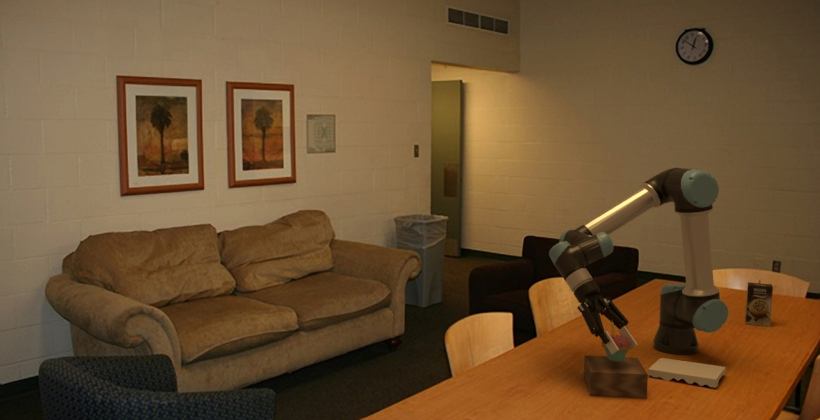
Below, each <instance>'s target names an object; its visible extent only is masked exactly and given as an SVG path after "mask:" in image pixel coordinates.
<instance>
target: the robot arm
mask: <svg viewBox="0 0 820 420" xmlns="http://www.w3.org/2000/svg"><path fill="white" fill-rule="evenodd" d="M718 183H719V182H717V179H716V178H715V176H714V175H712V174H711V173H710V172H708V171H705V170H702V169H698V168H682V167H673V168H668V169H666V170H663V171H662V172H661V171H660V172H659V173H658V174H655V175H654V176H652V177H651V178H649V179H648V180H645V182H643V183H641V185H640V187H639V189H637V190H636V191H634V192H632V193H631V194H628V195H627V196H626V197H624V198H622V199H621V200H619V201H618V202H617V203H614V204H613V205H612V206H610V207H609V208H607V209H605V210H604V211H602V212H601V213H599V214H598V215H596V216H594V217H592V218H591V219H590V220H588V221H586V222H585V223H583V224H582V225H580V226H578V227H576V228H575V229H566V230H564V231H563V232H562V233H561V234H560V236H559V240H558V241H559V242H558V243H556V244H555V245H553V246H552V247H551V248H550V249H549V251H548V256H549V258H550V260H551V261H552V263H553V265H554V266H555V268H556V269H557V271H558V273H559V274H560V275H561V276H562V278H563V280H564V281H565V282H566V284H567V286H568V287H569V289H570V291H571V292H573V295H574V297H575V299H576V300H577V302H578V303H579V305H578V306H577V310H578V311H579V312H580V313H581V315H582V317H583V319H584V321H585V323H586V325H587V328H588V330H589V331H590V333H591V335H592V336H593V335H594V337H595V338H598V337H599V338H600V340H601V342H602V341H603V343H604V344H605V345H606V346H607V348H608V349H609V351H610V353H611V354H612V355H613V354H615V353H616V352H617V351H618V350H619V348H618V347H617V345H616V344H615V342H614V341H613V339H612V338H611V336H610V335H611V334H610V333H609V332H608V330H605V329H604V325H603V322H602V318H601V316H604V317H605V318H606V319H607V320H608V321H610V323H612V322H613V323H614V327H616V328H617V329H618V331H617V332H618V333H619V336H620V335H622V336H623V337H625V338H627V339H628V340H629V341H630V343H631V349H630V350H632V349H634V348H635V347H636V346H638V342H637V341H636V339H635V337H633V335H632V333H631V332H630V330H629V328H628V326H627V325H628V324H629V320H628V319H627V318H626V316H625V315H624V314H623V313H622V312H621V311H620V309H619V308H618V307H617V305H615V304H614V302H613V300H612V298H611V297H610V296H607V297H606V298H604V297H603V296H602V295H601V294H600V292H601V289H600V287H599V286H598V284H597V283H596V281H595V280H594V279H593V277H592V275H591V274H590V273H589V271H588V269H587V268H586V266H588V265H590V264H592V263H594V262H596V261H599V260H600V259H603V258H606V257H607V256H609V255H610V254H612V253H613V252H614V247H615V246H614V243H613V241H612V239H611V237H610V235H611V234H612V233H614V232H615V231H617V230H619V229H620V228H621V227H623V226H625V225H627V224H628V223H630V222H631V221H633V220H634V219H636V218H638V217H639V216H641V215H643V214H644V213H646V212H647V211H649V210H651V209H652V208H657V209H658V208H659V207H661V206H662V205H665V204H668V203H674V204H673V205H674V213H676V214H677V215H678V216H679V217H680V228H681V238H682V251H683V252H682V253H683V262H684V263H683V265H684V274H685V283H668V284H664V285H662V286H661V288H660V295H659V296H660V300H659V302H660V303H659V323H658V325H659V326H658V328H657V331H656V333H655V335H654V338H653V341H652V346H653V348H654V349H655V350H657V351H659V352H662V353H667V354H672V355H692V354H697V353H698V352H699V342H698V341H699V340H698V338H697V335H696V330H697V331H699V332H704V333H715V332H717V331H718V330H721V328H722V327H723V326H724V325H725V324H726V323H727V320H728V318H729V309H728V306H727V304H726V303H725V302H724V301H723V300H721V297H720V289H719V288H718V287H717V286H716V285H715V282H714V271H713V270H714V269H713V258H712V257H713V256H712V245H711V233H710V232H711V231H710V220H709V214H710V213H711V211H713V209H714V208H713V204H714V203H715V202H716V200H717V198H718V196H719V192H720V191H719V190H720V189H719V184H718ZM695 329H696V330H695Z"/></svg>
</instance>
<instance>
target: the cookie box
mask: <svg viewBox="0 0 820 420" xmlns="http://www.w3.org/2000/svg"><path fill="white" fill-rule="evenodd" d="M773 291H774V288H773V284H769V283H759V282H747V291H746V302H745V315H744V324H745V325H749V326H751V325H752V326H761V327H766V328H767V327H771V317H772V316H771V315H772V304H773Z"/></svg>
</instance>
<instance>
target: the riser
mask: <svg viewBox="0 0 820 420" xmlns="http://www.w3.org/2000/svg"><path fill="white" fill-rule="evenodd" d="M583 358H584V362H583V379H584V382H585V384H586V387H587V391H588V393H589V396H595V397H597V396H598V397H616V398H618V397H619V398H638V399H639V398H640V399H641V398H642V399H647V398H648V379H649V375H648V371H647V370H646V369H645V368H644V366H643V364H642V363H641V361H640V359H639V358H638V357H635V356H634V357H632V356H631V357H629V356H625V358H624V360H623V361H612V360H609V359H608V358H607V355H606V356H605V355H584V357H583Z"/></svg>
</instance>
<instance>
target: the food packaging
mask: <svg viewBox="0 0 820 420" xmlns="http://www.w3.org/2000/svg"><path fill="white" fill-rule="evenodd" d="M647 370H648V371H647V374H648V376H651V377H652V378H657V379H658V378H661V379H662V380H664V381H668V382H669V381H671V380H672V379H675V380H676V381H680V380H683V381H684V382H686V383H687V384H688V385H692V384H694V383H695V384H697V385H698V386H699V387H703V386H705V385H706V386H708V387H709V388H717V387H718V386H719V381H720V379H721V378H722V377H723V375H724V374H725V373H726V366H721V365H716V364H715V365H714V364H708V363H702V362H701V363H700V362H693V361H686V360H679V359H672V358H666V357H665V358H664V357H660V358H659V359H658V360H657V361H655V362H654V363H653V364H652V365H651V366H650V367H649V368H648V369H647Z"/></svg>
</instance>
